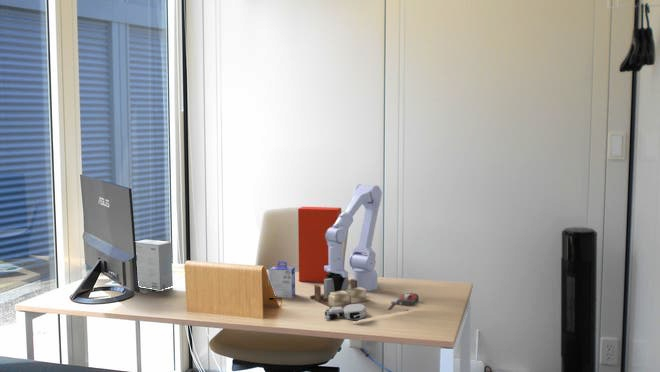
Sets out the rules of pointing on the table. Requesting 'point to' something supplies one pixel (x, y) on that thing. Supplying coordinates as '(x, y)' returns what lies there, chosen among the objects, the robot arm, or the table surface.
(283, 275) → the ink cartridge box
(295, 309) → the table surface
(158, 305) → the table surface
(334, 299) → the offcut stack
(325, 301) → the walnut rack
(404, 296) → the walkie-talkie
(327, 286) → the grey rectangular slab
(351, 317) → the robot toy
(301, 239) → the file binder
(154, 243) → the hard drive box
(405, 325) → the table surface
